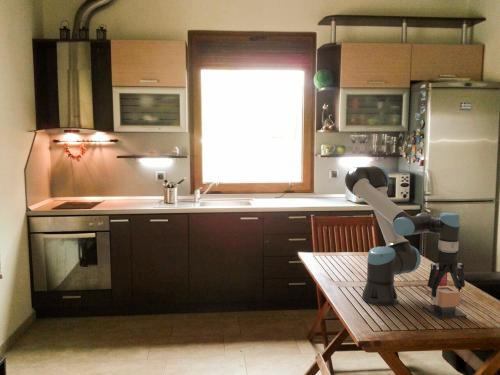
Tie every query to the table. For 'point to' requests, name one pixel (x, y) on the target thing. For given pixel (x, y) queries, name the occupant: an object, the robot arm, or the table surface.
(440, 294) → the collar
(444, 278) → the soda can
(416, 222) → the robot arm
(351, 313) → the table surface
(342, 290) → the table surface
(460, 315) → the post stand
